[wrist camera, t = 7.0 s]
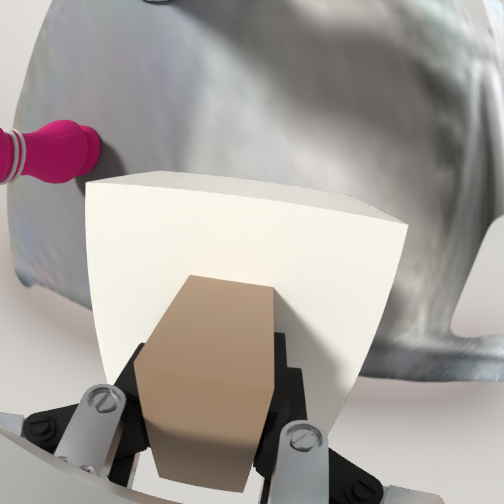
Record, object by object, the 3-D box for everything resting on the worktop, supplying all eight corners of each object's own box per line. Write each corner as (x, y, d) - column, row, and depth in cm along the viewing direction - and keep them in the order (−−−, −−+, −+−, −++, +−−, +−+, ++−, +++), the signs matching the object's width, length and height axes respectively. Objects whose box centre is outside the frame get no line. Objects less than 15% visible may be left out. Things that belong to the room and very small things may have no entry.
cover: (159, 170, 17) (-15, 207, 4) (350, 196, 17) (498, 278, 4) (156, 332, 21) (78, 469, 8) (311, 355, 20) (335, 514, 8)
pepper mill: (110, 167, 29) (-31, 194, 10) (68, 186, 30) (-59, 225, 11) (98, 112, 27) (-38, 98, 8) (57, 136, 28) (-69, 145, 9)
